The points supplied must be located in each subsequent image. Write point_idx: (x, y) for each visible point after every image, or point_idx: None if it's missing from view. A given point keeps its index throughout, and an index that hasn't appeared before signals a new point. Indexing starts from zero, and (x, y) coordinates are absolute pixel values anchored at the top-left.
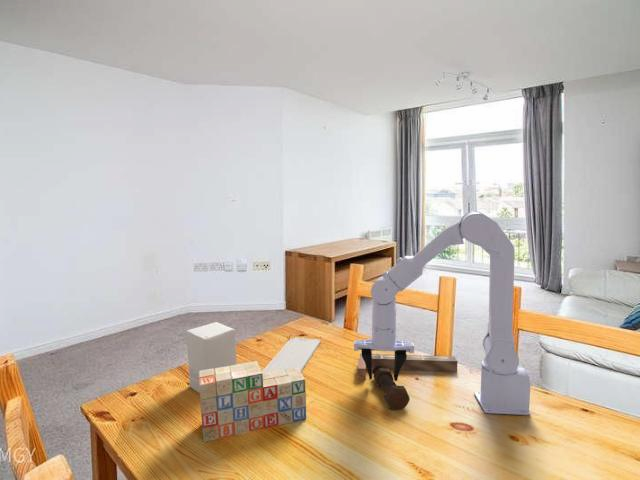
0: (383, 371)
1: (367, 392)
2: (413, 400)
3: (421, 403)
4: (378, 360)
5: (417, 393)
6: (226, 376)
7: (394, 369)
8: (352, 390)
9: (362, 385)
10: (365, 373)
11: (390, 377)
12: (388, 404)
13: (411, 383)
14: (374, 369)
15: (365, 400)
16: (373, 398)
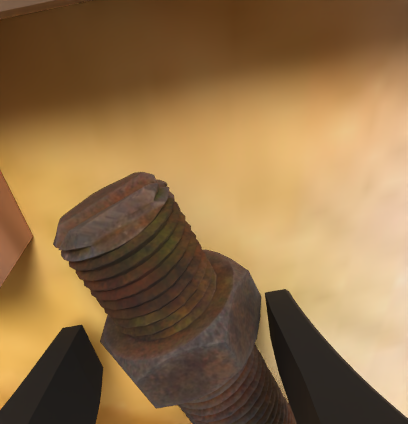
0: (185, 401)
1: (101, 356)
2: (360, 359)
3: (396, 369)
4: (38, 6)
5: (399, 300)
6: None
7: (287, 359)
8: (8, 360)
9: (42, 304)
10: (9, 269)
11: (245, 391)
12: None
13: (388, 199)
14: (74, 267)
15: (114, 409)
16: None
